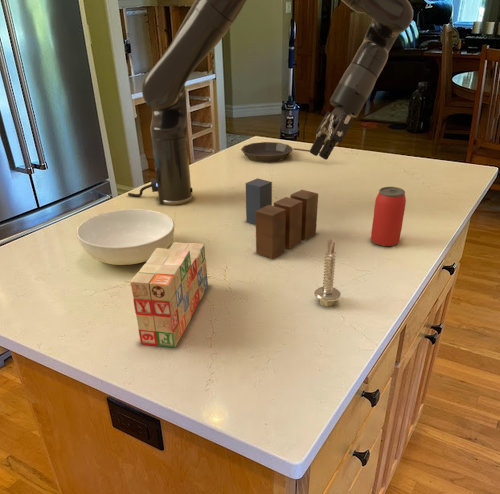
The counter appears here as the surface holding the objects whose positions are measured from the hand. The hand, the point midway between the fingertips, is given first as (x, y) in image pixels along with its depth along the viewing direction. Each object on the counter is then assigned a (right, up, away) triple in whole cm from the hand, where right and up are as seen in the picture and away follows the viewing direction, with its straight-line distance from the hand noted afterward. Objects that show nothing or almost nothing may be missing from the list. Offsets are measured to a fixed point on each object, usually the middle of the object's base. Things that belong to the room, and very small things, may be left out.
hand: (317, 156), depth 123 cm
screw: (-2, -37, -26) cm, 45 cm away
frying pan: (-4, +17, +52) cm, 54 cm away
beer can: (+15, -22, -4) cm, 27 cm away
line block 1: (-12, -25, -8) cm, 28 cm away
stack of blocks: (-30, -39, -28) cm, 57 cm away
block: (-14, -14, +7) cm, 21 cm away
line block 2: (-8, -22, -4) cm, 23 cm away
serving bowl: (-43, -25, -8) cm, 51 cm away
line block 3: (-4, -19, 0) cm, 19 cm away
